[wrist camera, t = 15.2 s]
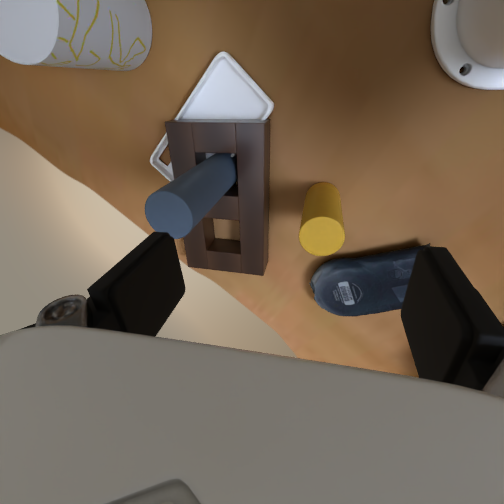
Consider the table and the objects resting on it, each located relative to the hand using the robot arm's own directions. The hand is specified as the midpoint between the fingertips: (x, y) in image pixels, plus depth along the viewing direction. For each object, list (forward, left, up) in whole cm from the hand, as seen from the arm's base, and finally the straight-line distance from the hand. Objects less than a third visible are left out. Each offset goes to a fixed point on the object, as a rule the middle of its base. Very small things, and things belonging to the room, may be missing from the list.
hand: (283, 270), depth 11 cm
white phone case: (+11, -1, -22) cm, 25 cm away
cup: (+21, -12, -24) cm, 34 cm away
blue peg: (+10, +2, -24) cm, 26 cm away
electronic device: (-9, +16, -24) cm, 30 cm away
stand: (+10, +6, -24) cm, 26 cm away
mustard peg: (-2, +6, -24) cm, 24 cm away
